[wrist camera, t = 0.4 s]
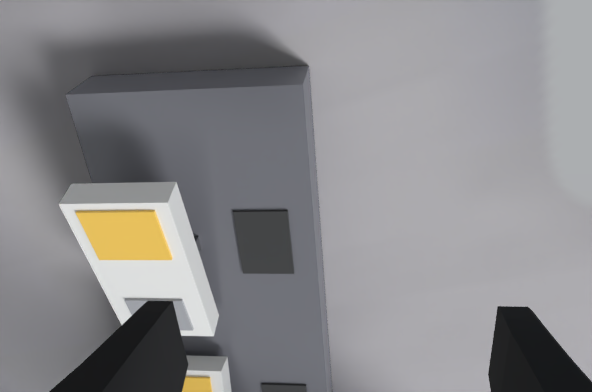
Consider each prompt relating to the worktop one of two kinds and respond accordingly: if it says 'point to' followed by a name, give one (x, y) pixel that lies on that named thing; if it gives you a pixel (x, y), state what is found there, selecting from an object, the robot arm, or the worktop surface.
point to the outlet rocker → (142, 249)
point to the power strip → (230, 203)
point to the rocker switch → (207, 374)
